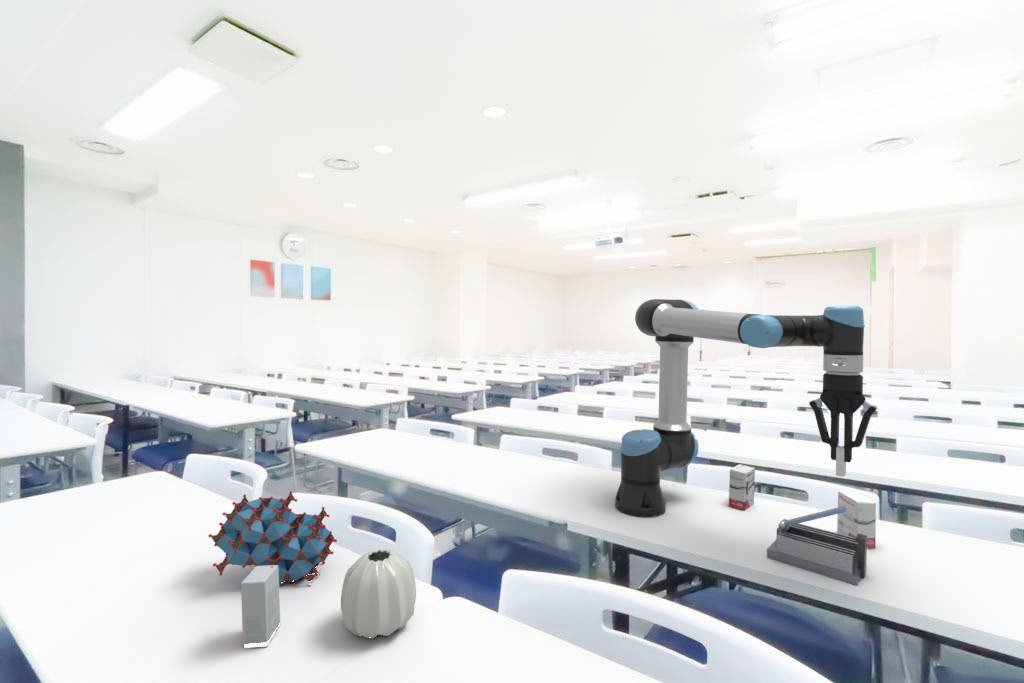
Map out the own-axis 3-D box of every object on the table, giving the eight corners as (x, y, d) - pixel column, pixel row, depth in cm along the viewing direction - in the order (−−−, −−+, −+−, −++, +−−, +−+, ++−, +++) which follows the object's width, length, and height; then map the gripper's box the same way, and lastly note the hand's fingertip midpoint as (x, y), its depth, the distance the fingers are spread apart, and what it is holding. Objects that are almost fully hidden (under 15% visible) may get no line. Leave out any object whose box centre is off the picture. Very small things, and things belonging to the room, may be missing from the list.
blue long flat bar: (780, 529, 117) (777, 524, 117) (784, 525, 119) (781, 519, 120) (845, 514, 107) (841, 508, 108) (848, 509, 110) (844, 503, 110)
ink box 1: (744, 511, 144) (745, 472, 143) (728, 506, 147) (728, 469, 147) (754, 503, 150) (755, 466, 149) (738, 499, 153) (739, 463, 153)
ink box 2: (876, 548, 120) (877, 502, 119) (856, 548, 120) (857, 502, 120) (854, 533, 128) (856, 490, 128) (835, 533, 129) (836, 490, 128)
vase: (344, 658, 81) (343, 581, 80) (339, 612, 93) (338, 546, 93) (424, 636, 86) (423, 564, 86) (409, 596, 99) (408, 533, 98)
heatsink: (766, 557, 115) (767, 521, 115) (780, 541, 124) (781, 508, 124) (860, 586, 102) (861, 546, 102) (869, 566, 111) (870, 529, 111)
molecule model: (348, 518, 118) (253, 472, 112) (341, 543, 104) (233, 492, 99) (312, 577, 116) (214, 533, 111) (300, 611, 102) (188, 562, 97)
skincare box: (257, 627, 89) (255, 565, 88) (280, 626, 89) (279, 564, 89) (241, 649, 83) (240, 582, 82) (266, 648, 83) (265, 581, 83)
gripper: (805, 372, 110) (804, 472, 111) (875, 376, 101) (873, 485, 102) (813, 370, 116) (811, 465, 116) (880, 373, 107) (878, 477, 107)
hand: (840, 474), depth 109 cm, fingers closed
